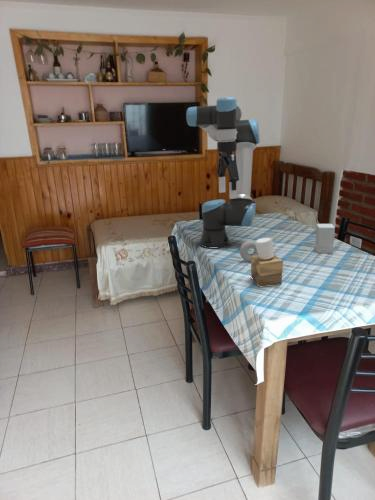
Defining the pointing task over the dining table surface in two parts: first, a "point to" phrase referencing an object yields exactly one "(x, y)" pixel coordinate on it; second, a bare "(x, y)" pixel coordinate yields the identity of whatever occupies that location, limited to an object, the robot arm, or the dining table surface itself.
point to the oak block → (266, 265)
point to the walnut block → (266, 278)
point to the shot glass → (265, 247)
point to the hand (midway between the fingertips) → (227, 195)
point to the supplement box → (324, 238)
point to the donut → (245, 247)
